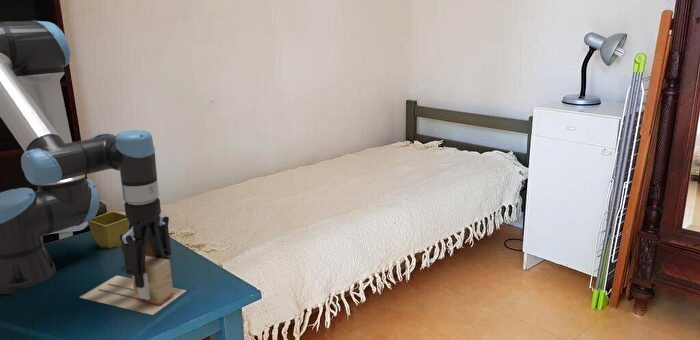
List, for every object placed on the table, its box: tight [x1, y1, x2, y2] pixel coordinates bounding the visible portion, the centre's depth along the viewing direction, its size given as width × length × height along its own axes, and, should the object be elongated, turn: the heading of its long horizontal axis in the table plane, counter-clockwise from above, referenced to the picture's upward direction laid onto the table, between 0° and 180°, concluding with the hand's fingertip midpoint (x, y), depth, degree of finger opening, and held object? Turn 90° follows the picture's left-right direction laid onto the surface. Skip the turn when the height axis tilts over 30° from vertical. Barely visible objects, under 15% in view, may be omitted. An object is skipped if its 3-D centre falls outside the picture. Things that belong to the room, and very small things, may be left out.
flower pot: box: [87, 210, 130, 249], centre depth 160 cm, size 9×9×9 cm
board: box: [79, 275, 187, 316], centre depth 132 cm, size 22×12×1 cm, turn 69°
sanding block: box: [131, 256, 174, 304], centre depth 128 cm, size 7×5×9 cm
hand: (153, 292), depth 129 cm, fingers closed on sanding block, 5 cm apart
